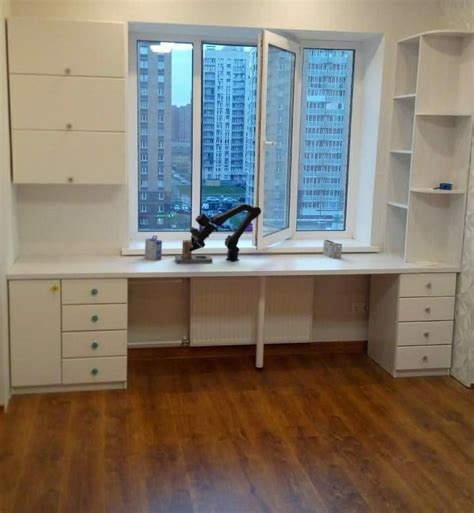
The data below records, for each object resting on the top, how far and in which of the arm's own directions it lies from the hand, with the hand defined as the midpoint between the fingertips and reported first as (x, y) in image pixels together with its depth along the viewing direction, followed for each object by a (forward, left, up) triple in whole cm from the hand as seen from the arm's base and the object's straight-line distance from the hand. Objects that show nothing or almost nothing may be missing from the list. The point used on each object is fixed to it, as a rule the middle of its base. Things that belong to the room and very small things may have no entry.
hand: (188, 249), depth 399 cm
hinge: (-43, -89, -8) cm, 99 cm away
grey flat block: (-2, -3, -8) cm, 9 cm away
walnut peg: (0, +1, -8) cm, 8 cm away
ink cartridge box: (+17, +14, -8) cm, 23 cm away
